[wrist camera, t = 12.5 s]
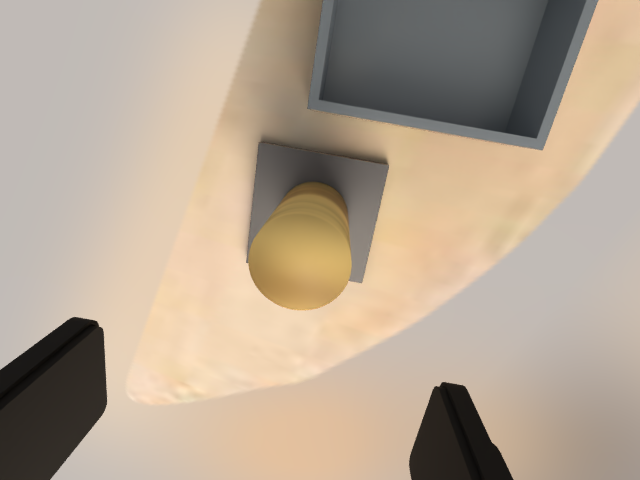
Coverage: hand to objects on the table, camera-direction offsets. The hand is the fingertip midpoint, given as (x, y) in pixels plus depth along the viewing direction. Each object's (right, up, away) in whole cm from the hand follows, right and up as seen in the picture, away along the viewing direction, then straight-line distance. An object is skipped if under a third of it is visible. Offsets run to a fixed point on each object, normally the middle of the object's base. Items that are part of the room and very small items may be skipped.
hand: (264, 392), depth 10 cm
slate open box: (+9, +17, +15) cm, 25 cm away
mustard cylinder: (+1, +6, +18) cm, 19 cm away
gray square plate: (+1, +6, +19) cm, 20 cm away
